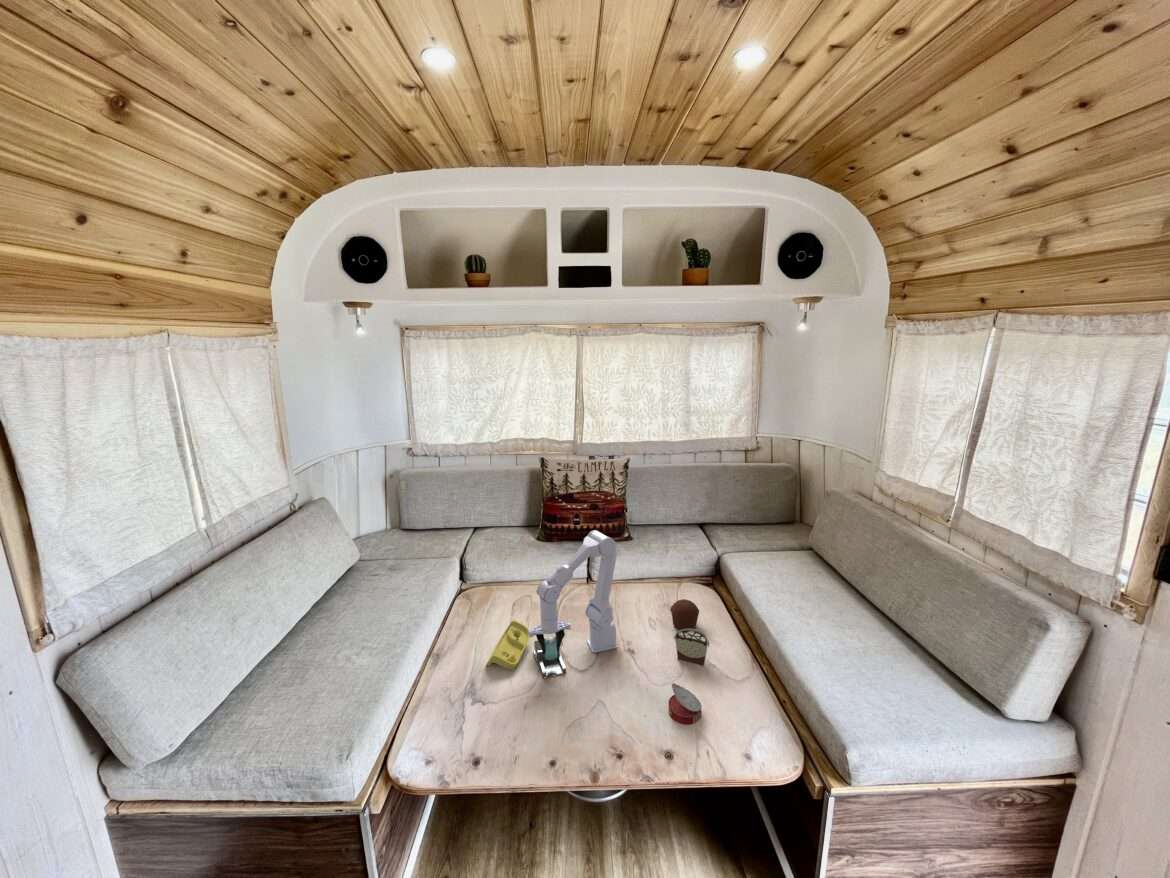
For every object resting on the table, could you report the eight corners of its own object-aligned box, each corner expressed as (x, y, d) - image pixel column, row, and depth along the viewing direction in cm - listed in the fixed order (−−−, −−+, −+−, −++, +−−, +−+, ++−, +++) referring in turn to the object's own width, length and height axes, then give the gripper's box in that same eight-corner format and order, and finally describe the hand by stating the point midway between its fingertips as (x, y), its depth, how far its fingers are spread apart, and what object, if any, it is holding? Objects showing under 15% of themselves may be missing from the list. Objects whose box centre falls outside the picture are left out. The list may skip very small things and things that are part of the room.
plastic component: (516, 666, 168) (490, 653, 169) (509, 681, 171) (483, 668, 171) (533, 629, 187) (510, 617, 187) (526, 643, 189) (504, 631, 190)
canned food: (676, 713, 154) (681, 680, 157) (705, 725, 148) (710, 690, 150) (658, 717, 146) (663, 682, 149) (688, 730, 140) (693, 693, 142)
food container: (711, 657, 174) (712, 632, 172) (708, 667, 168) (709, 642, 166) (677, 648, 179) (678, 624, 177) (673, 658, 173) (673, 633, 171)
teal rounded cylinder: (557, 651, 172) (556, 634, 171) (557, 659, 168) (556, 642, 166) (544, 652, 172) (543, 635, 170) (544, 660, 167) (544, 643, 166)
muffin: (697, 636, 186) (697, 612, 184) (668, 631, 190) (668, 608, 188) (700, 619, 197) (700, 596, 195) (672, 615, 201) (673, 592, 199)
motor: (560, 646, 182) (559, 631, 181) (571, 672, 168) (570, 656, 167) (533, 651, 179) (532, 637, 178) (541, 678, 165) (541, 663, 164)
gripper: (566, 605, 173) (567, 639, 176) (526, 613, 169) (528, 648, 171) (571, 616, 166) (573, 651, 169) (530, 624, 162) (531, 660, 165)
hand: (550, 650), depth 170 cm, fingers closed on teal rounded cylinder, 4 cm apart
